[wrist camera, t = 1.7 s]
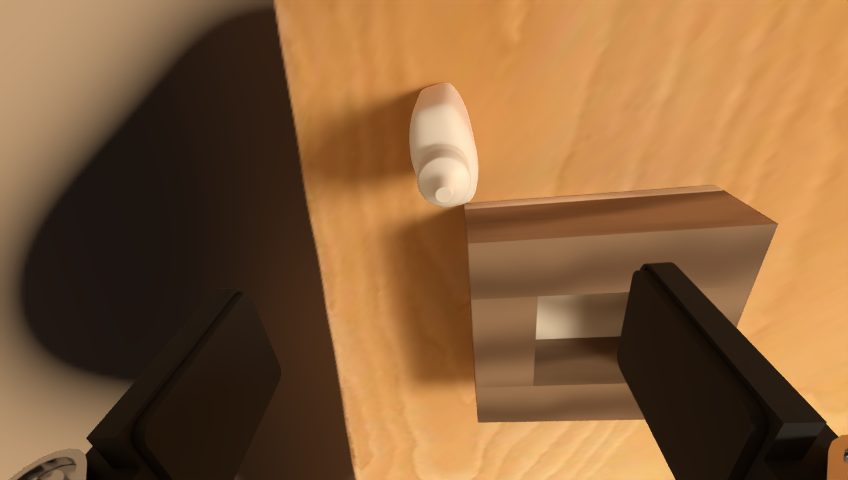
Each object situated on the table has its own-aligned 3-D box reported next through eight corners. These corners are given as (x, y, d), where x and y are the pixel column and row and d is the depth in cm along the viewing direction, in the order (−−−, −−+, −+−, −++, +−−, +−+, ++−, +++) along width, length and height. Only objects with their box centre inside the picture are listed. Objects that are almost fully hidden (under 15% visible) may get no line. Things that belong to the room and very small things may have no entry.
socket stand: (464, 203, 29) (467, 243, 24) (715, 185, 27) (778, 223, 22) (473, 367, 38) (478, 422, 33) (663, 361, 36) (699, 418, 31)
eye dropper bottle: (405, 156, 27) (380, 239, 17) (423, 74, 25) (406, 114, 14) (463, 170, 28) (474, 260, 17) (488, 91, 25) (517, 143, 15)
